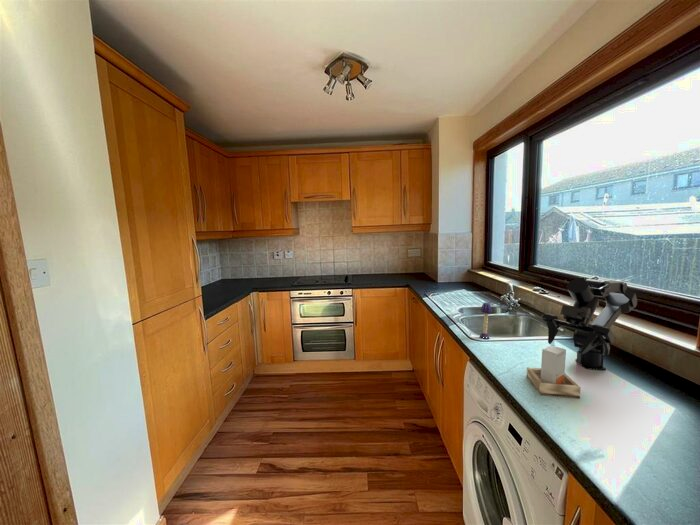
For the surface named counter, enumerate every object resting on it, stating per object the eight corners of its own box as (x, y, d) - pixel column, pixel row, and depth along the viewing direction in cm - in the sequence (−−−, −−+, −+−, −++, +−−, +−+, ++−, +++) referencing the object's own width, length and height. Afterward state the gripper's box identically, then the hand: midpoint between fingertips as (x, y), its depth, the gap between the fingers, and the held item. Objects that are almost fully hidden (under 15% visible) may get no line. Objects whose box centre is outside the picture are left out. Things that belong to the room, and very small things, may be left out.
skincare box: (554, 390, 85) (556, 354, 83) (539, 384, 88) (541, 349, 87) (564, 384, 87) (566, 349, 86) (549, 378, 91) (551, 344, 90)
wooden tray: (561, 379, 92) (561, 369, 91) (579, 398, 82) (580, 387, 81) (526, 377, 94) (527, 367, 94) (540, 395, 84) (541, 384, 84)
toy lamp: (490, 336, 129) (491, 302, 127) (491, 340, 125) (492, 304, 123) (479, 335, 131) (480, 301, 129) (479, 338, 127) (480, 304, 125)
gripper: (544, 291, 98) (525, 326, 95) (612, 302, 82) (593, 346, 78) (555, 308, 103) (537, 343, 99) (621, 322, 87) (603, 364, 83)
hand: (564, 348), depth 90 cm, fingers open, 9 cm apart
